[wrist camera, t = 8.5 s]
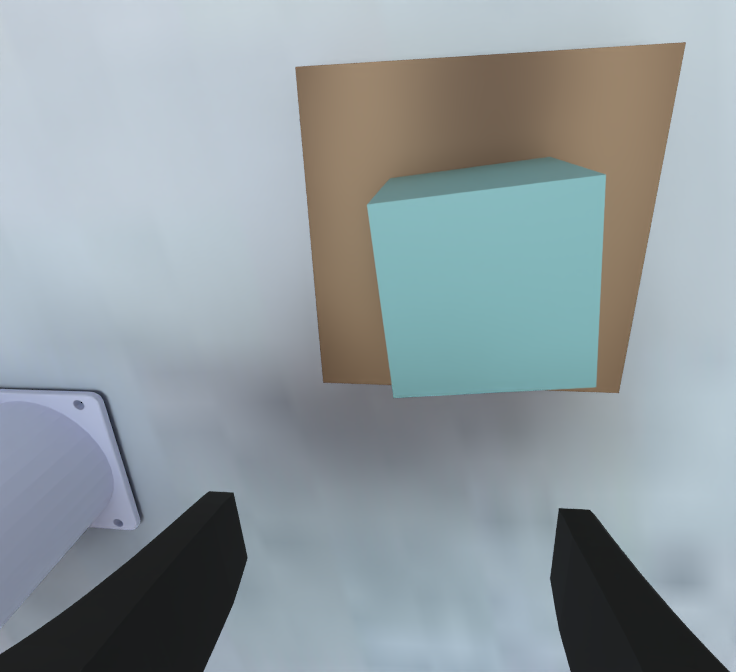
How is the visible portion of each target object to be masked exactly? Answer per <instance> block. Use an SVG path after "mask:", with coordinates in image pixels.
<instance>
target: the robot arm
mask: <svg viewBox="0 0 736 672" xmlns="http://www.w3.org/2000/svg"><path fill="white" fill-rule="evenodd" d="M80 401H81V402H82V403H83V404H84V405H83V404H82V403H81V402H80ZM139 524H140V517H139V514H138V510H137V507H136V504H135V501H134V497H133V494H132V491H131V488H130V485H129V481H128V478H127V475H126V472H125V468H124V465H123V462H122V459H121V455H120V452H119V449H118V446H117V443H116V439H115V436H114V433H113V430H112V426H111V423H110V420H109V417H108V413H107V410H106V407H105V404H104V401H103V399H102V397H101V396H100V395H98V394H96V393H94V392H81V391H49V390H17V389H0V629H1V628H2V626H3V625H4V624H5V623H6V622H7V621H8V619H9V618H10V617H11V616H12V615H13V614H14V613H15V611H16V610H17V609H18V608H19V607H20V606H21V604H22V603H23V602H24V601H25V600H26V599H27V598H28V596H29V595H30V594H31V593H32V592H33V591H34V589H35V588H36V587H37V586H38V585H39V584H40V583H41V581H42V580H43V579H44V578H45V577H46V576H47V574H48V573H49V572H50V571H51V570H52V569H53V568H54V566H55V565H56V564H57V563H58V562H59V561H60V559H61V558H62V557H63V556H64V555H65V554H66V553H67V551H68V550H69V549H70V548H71V547H72V546H73V544H74V543H75V542H76V541H77V540H78V539H79V538H80V536H81V535H82V534H83V533H84V532H85V531H86V529H87V528H88V527H93V528H106V529H120V530H134V529H136V528H137V526H138V525H139ZM246 561H247V553H246V548H245V544H244V539H243V534H242V530H241V525H240V520H239V516H238V511H237V507H236V502H235V497H234V493H232V492H211V491H209V492H208V493H206V494H205V495H204V496H203V497H202V498H200V499H199V500H198V501H197V502H196V503H195V504H193V505H192V506H191V507H190V508H189V509H188V510H187V511H185V512H184V513H183V514H182V515H181V516H180V517H179V518H178V519H176V520H175V521H174V522H173V523H172V524H171V525H170V526H168V527H167V528H166V529H165V530H164V531H163V532H162V533H160V534H159V535H158V536H157V537H156V538H155V539H153V540H152V541H151V542H150V543H149V544H148V545H146V546H145V547H144V548H143V549H142V550H141V551H140V552H138V553H137V554H136V555H135V556H134V557H133V558H131V559H130V560H129V561H128V562H126V563H125V564H124V565H123V566H121V567H120V568H119V569H118V570H116V571H115V572H114V573H113V574H111V575H110V576H109V577H108V578H106V579H105V580H104V581H103V582H101V583H100V584H99V585H98V586H96V587H95V588H94V589H93V590H91V591H90V592H89V593H88V594H86V595H85V596H84V597H82V598H81V599H80V600H78V601H77V602H76V603H74V604H73V605H72V606H70V607H69V608H68V609H66V610H65V611H64V612H62V613H61V614H59V615H58V616H57V617H55V618H54V619H52V620H51V621H49V622H48V623H47V624H45V625H44V626H42V627H41V628H39V629H38V630H36V631H35V632H34V633H32V634H31V635H29V636H28V637H26V638H25V639H23V640H22V641H20V642H19V643H17V644H16V645H14V646H13V647H11V648H9V649H8V650H6V651H5V652H3V653H1V654H0V672H203V671H204V669H205V667H206V665H207V662H208V660H209V658H210V656H211V653H212V651H213V649H214V647H215V644H216V642H217V640H218V638H219V635H220V633H221V631H222V629H223V626H224V624H225V622H226V619H227V617H228V615H229V612H230V610H231V608H232V605H233V603H234V600H235V597H236V594H237V591H238V588H239V585H240V582H241V578H242V575H243V571H244V568H245V565H246ZM550 580H551V586H552V592H553V598H554V604H555V610H556V616H557V621H558V626H559V631H560V635H561V639H562V642H563V646H564V649H565V653H566V656H567V660H568V664H569V667H570V671H571V672H729V671H728V670H727V668H726V667H725V666H724V665H723V664H722V663H721V662H720V661H719V660H718V659H717V658H716V657H715V656H714V655H713V654H712V653H711V652H710V651H709V650H708V649H707V648H706V647H705V646H704V644H703V643H702V642H701V641H700V640H699V639H698V638H697V637H696V636H695V635H694V634H693V633H692V632H691V631H690V629H689V628H688V627H687V626H686V625H685V624H684V623H683V622H682V621H681V619H680V618H679V617H678V616H677V615H676V614H675V613H674V612H673V611H672V609H671V608H670V607H669V606H668V605H667V604H666V602H665V601H664V600H663V599H662V598H661V597H660V595H659V594H658V593H657V592H656V591H655V590H654V589H653V587H652V586H651V585H650V584H649V583H648V582H647V580H646V579H645V578H644V577H643V576H642V574H641V573H640V572H639V571H638V569H637V568H636V567H635V566H634V565H633V563H632V562H631V561H630V560H629V558H628V557H627V556H626V555H625V553H624V552H623V551H622V550H621V548H620V547H619V546H618V545H617V543H616V542H615V541H614V539H613V538H612V537H611V536H610V534H609V533H608V532H607V530H606V529H605V528H604V526H603V525H602V524H601V522H600V521H599V520H598V519H597V517H596V516H595V515H594V514H593V513H592V512H591V511H590V510H585V509H564V508H559V512H558V520H557V528H556V536H555V544H554V552H553V560H552V568H551V576H550Z"/></svg>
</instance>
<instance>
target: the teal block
mask: <svg viewBox="0 0 736 672" xmlns="http://www.w3.org/2000/svg"><path fill="white" fill-rule="evenodd" d="M605 186H606V174H603V173H600V172H596V171H593V170H590V169H587V168H584V167H581V166H578V165H574V164H571V163H568V162H565V161H562V160H559V159H556V158H552V157H545V158H537V159H530V160H522V161H515V162H507V163H500V164H492V165H485V166H477V167H470V168H463V169H455V170H448V171H440V172H433V173H425V174H418V175H410V176H403V177H396V178H390V179H389V180H388V181H387V182H386V183H385V184H384V186H383V187H382V188H381V189H380V190H379V191H378V192H377V194H376V195H375V196H374V197H373V198H372V199H371V200H370V202H369V203H368V204H367V209H368V216H369V223H370V230H371V238H372V245H373V252H374V259H375V267H376V274H377V281H378V289H379V296H380V303H381V310H382V318H383V325H384V332H385V339H386V347H387V354H388V361H389V368H390V376H391V383H392V390H393V397H394V398H404V397H423V396H442V395H461V394H480V393H499V392H517V391H536V390H555V389H574V388H593V387H596V380H597V359H598V337H599V316H600V294H601V272H602V251H603V229H604V207H605Z"/></svg>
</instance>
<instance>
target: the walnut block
mask: <svg viewBox="0 0 736 672" xmlns="http://www.w3.org/2000/svg"><path fill="white" fill-rule="evenodd" d="M685 44H686V42H683V43H667V44H652V45H636V46H620V47H604V48H588V49H572V50H556V51H540V52H524V53H509V54H493V55H477V56H461V57H445V58H429V59H413V60H397V61H381V62H365V63H350V64H334V65H318V66H302V67H295V69H296V80H297V91H298V103H299V114H300V125H301V137H302V148H303V159H304V170H305V182H306V193H307V204H308V216H309V227H310V238H311V250H312V261H313V272H314V284H315V295H316V306H317V318H318V329H319V340H320V352H321V363H322V374H323V383H350V384H378V385H392V383H391V376H390V368H389V361H388V354H387V347H386V339H385V332H384V325H383V318H382V310H381V303H380V296H379V289H378V281H377V274H376V267H375V259H374V252H373V245H372V238H371V230H370V223H369V216H368V209H367V204H368V203H369V202H370V200H371V199H372V198H373V197H374V196H375V195H376V194H377V192H378V191H379V190H380V189H381V188H382V187H383V186H384V184H385V183H386V182H387V181H388V180H389V179H390V178H396V177H403V176H410V175H418V174H425V173H433V172H440V171H448V170H455V169H463V168H470V167H477V166H485V165H492V164H500V163H507V162H515V161H522V160H530V159H537V158H545V157H552V158H556V159H559V160H562V161H565V162H568V163H571V164H574V165H578V166H581V167H584V168H587V169H590V170H593V171H596V172H600V173H603V174H606V186H605V207H604V229H603V251H602V272H601V294H600V316H599V337H598V359H597V380H596V387H593V388H574V389H555V390H549V391H578V392H606V393H619V389H620V384H621V379H622V373H623V368H624V363H625V358H626V352H627V347H628V342H629V337H630V332H631V326H632V321H633V316H634V311H635V305H636V300H637V295H638V290H639V285H640V279H641V274H642V269H643V264H644V258H645V253H646V248H647V243H648V237H649V232H650V227H651V222H652V217H653V211H654V206H655V201H656V196H657V190H658V185H659V180H660V175H661V169H662V164H663V159H664V154H665V149H666V143H667V138H668V133H669V128H670V122H671V117H672V112H673V107H674V102H675V96H676V91H677V86H678V81H679V75H680V70H681V65H682V60H683V54H684V49H685Z"/></svg>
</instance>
